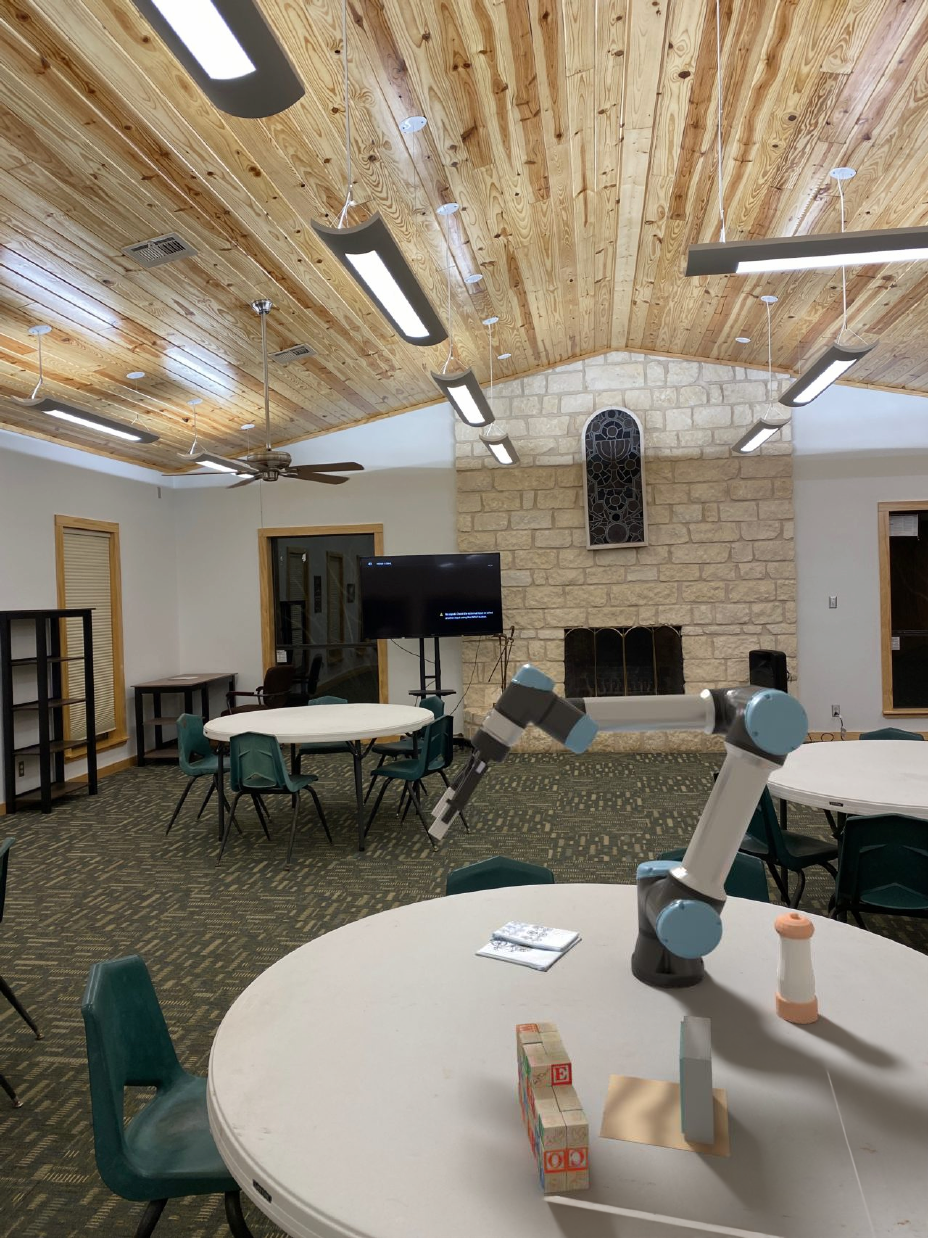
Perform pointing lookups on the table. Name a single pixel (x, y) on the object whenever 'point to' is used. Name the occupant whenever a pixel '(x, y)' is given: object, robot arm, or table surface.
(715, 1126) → the mat
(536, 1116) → the stack of blocks
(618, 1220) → the table surface
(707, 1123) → the block
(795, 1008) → the salt shaker
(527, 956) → the folded white cloth
